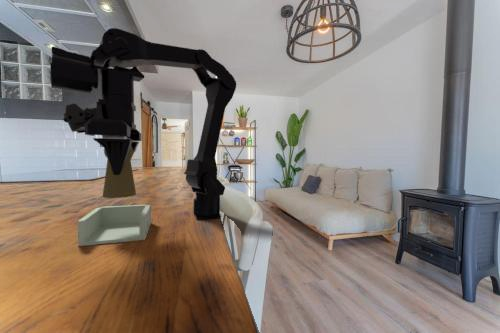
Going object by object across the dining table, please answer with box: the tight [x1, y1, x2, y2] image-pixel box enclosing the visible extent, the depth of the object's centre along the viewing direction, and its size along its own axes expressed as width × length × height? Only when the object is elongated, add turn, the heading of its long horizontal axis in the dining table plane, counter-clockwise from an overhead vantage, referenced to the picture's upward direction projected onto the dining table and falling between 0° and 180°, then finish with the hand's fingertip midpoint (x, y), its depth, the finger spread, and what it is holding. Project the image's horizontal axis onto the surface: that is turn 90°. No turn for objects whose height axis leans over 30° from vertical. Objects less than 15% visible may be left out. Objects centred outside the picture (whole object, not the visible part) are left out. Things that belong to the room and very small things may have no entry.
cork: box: [102, 146, 137, 199], centre depth 46 cm, size 6×6×11 cm
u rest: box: [77, 203, 152, 247], centre depth 46 cm, size 11×11×5 cm
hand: (119, 173), depth 46 cm, fingers closed on cork, 4 cm apart
